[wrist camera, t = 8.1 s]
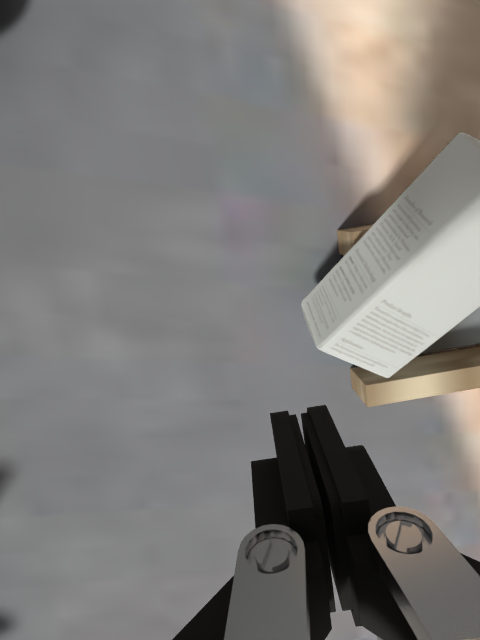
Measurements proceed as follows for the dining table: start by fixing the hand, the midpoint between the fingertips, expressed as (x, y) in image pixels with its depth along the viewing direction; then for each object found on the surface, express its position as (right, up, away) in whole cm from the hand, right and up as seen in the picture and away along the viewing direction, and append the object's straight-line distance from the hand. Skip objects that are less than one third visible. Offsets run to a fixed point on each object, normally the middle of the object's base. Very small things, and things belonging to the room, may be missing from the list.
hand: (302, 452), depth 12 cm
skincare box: (+4, +2, +13) cm, 14 cm away
